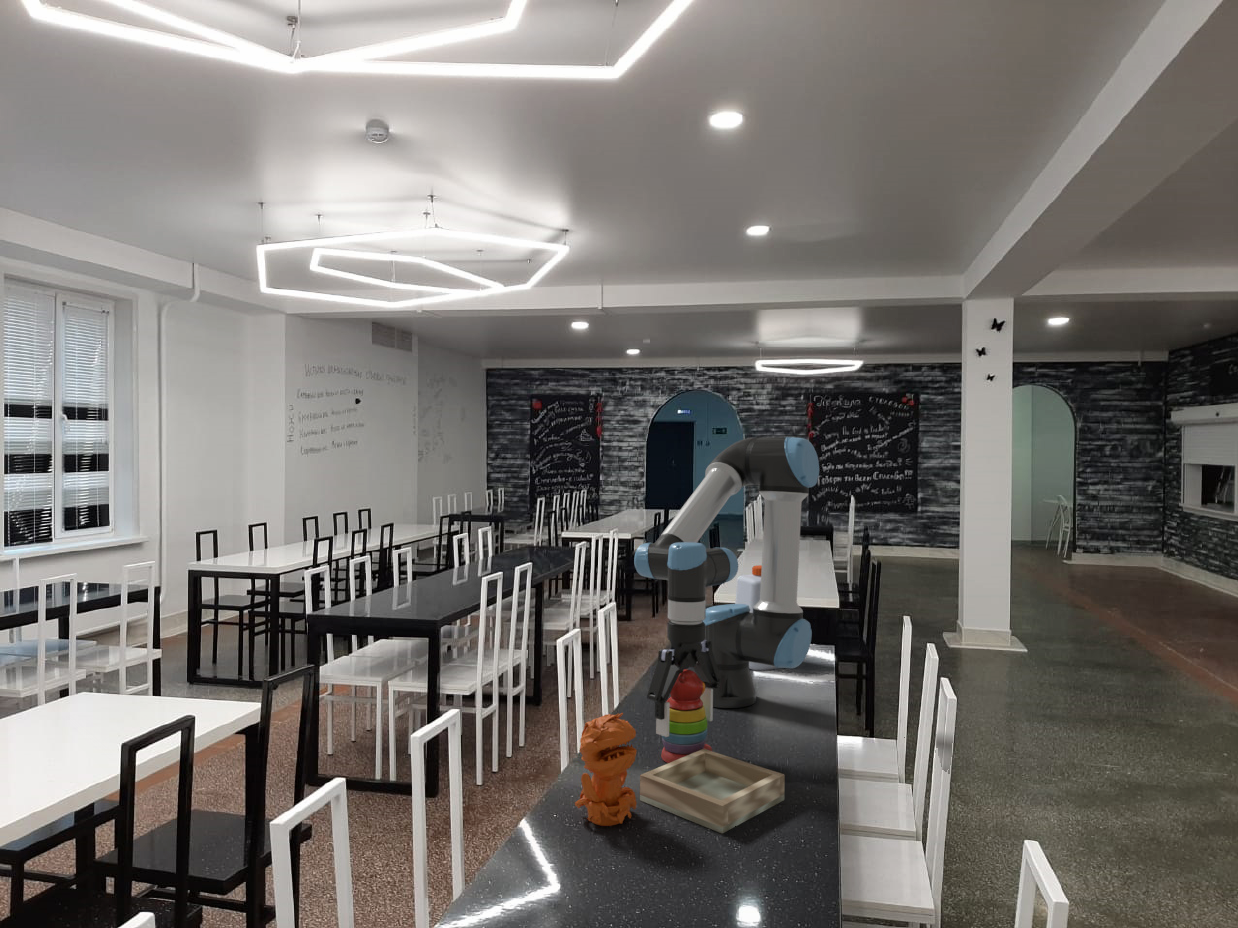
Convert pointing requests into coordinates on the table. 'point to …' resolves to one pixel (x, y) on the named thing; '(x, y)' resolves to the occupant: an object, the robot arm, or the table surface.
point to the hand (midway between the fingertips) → (685, 727)
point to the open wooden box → (712, 789)
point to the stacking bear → (685, 718)
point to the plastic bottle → (751, 601)
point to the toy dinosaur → (607, 769)
